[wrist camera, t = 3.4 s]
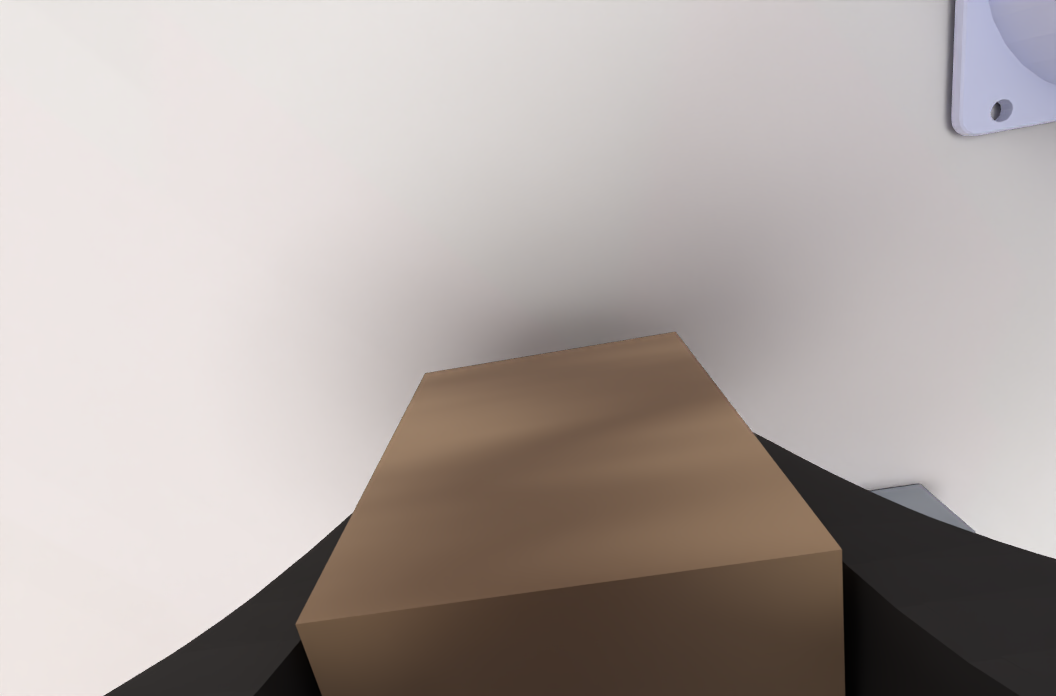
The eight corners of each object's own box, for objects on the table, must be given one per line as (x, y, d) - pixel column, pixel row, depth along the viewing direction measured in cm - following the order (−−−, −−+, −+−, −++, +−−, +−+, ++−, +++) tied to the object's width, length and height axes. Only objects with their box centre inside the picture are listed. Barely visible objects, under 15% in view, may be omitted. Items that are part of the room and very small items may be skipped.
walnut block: (675, 331, 10) (841, 548, 5) (699, 546, 12) (850, 917, 6) (425, 372, 11) (296, 624, 5) (476, 577, 12) (420, 958, 6)
